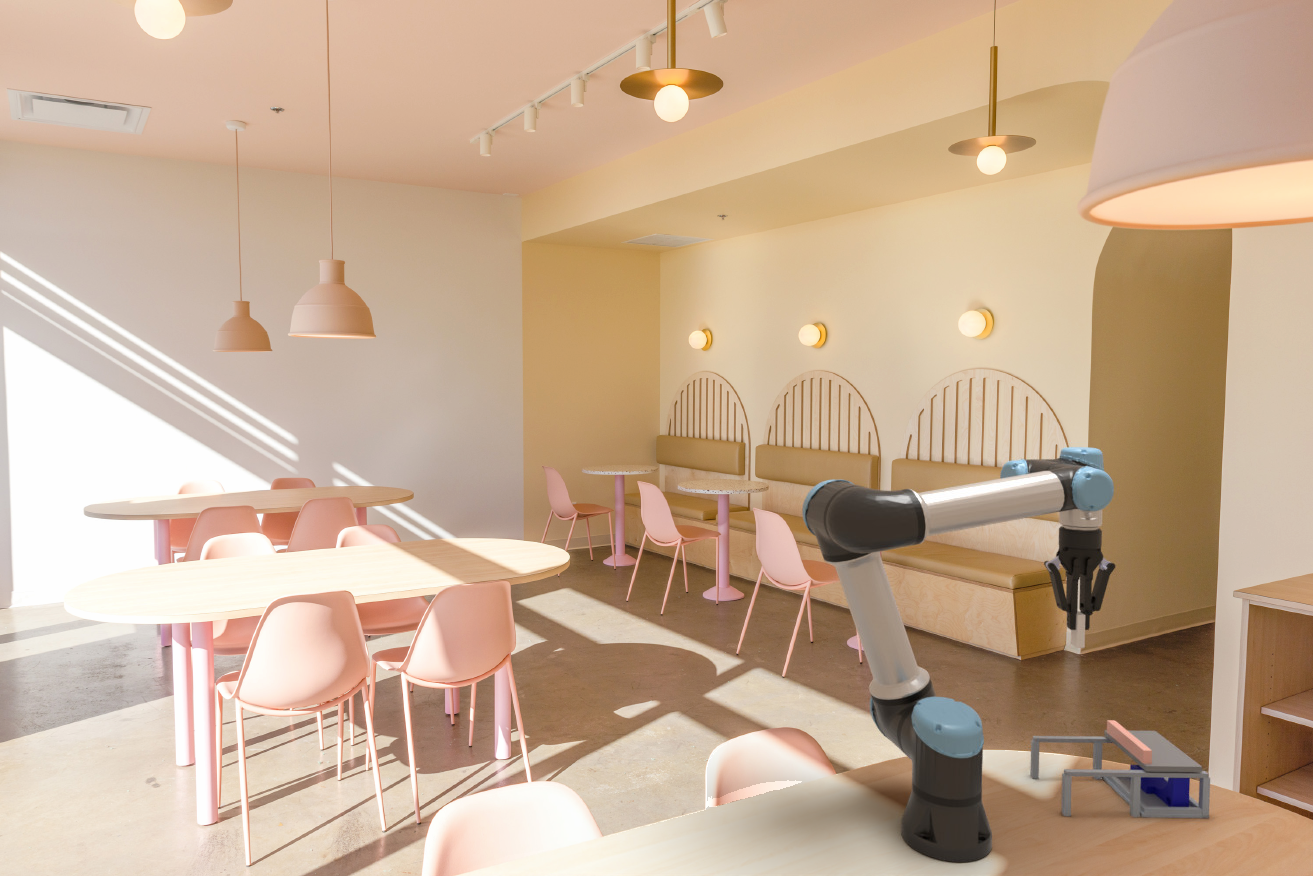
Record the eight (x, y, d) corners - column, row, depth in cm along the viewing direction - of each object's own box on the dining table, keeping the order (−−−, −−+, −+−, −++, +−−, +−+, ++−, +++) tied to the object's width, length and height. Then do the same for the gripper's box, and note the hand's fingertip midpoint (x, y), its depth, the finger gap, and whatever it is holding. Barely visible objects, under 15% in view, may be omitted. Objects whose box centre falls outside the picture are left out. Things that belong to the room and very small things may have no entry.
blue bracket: (1129, 779, 170) (1130, 750, 169) (1152, 779, 170) (1153, 750, 169) (1164, 809, 158) (1165, 778, 157) (1188, 809, 158) (1189, 778, 157)
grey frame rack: (1064, 816, 157) (1065, 772, 156) (1030, 775, 173) (1031, 735, 172) (1208, 818, 156) (1210, 773, 155) (1161, 777, 172) (1162, 737, 171)
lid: (1146, 771, 156) (1146, 752, 155) (1104, 735, 172) (1104, 718, 171) (1202, 772, 155) (1202, 753, 155) (1155, 735, 171) (1155, 718, 171)
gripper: (1054, 530, 162) (1051, 651, 163) (1124, 530, 161) (1121, 652, 163) (1038, 523, 169) (1036, 639, 171) (1105, 523, 168) (1102, 640, 170)
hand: (1077, 645), depth 167 cm, fingers closed
